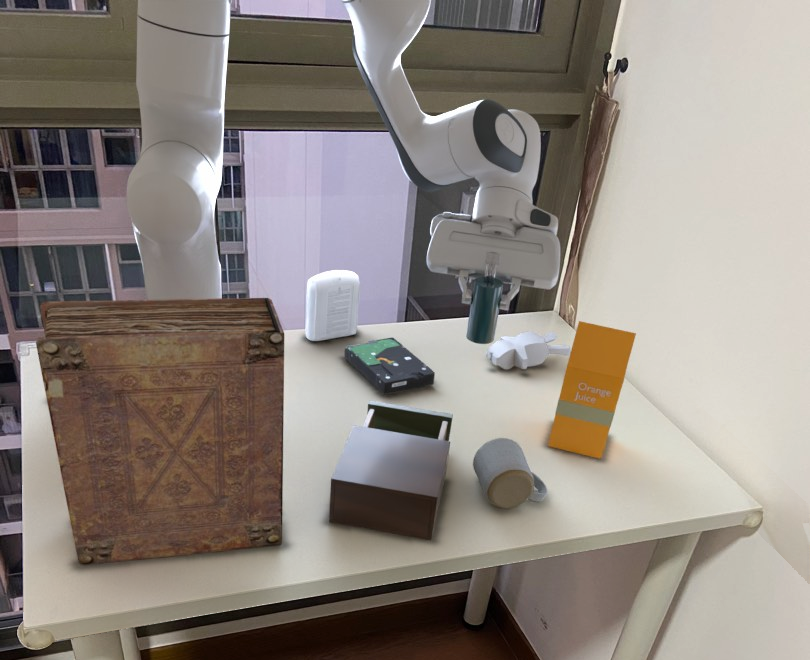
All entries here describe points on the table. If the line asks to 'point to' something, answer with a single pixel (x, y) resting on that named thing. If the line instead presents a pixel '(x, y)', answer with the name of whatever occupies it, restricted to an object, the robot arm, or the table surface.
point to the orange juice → (591, 389)
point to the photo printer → (332, 305)
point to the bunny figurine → (524, 350)
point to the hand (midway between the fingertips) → (485, 305)
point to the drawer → (408, 420)
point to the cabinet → (389, 482)
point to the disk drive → (389, 365)
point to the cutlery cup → (485, 303)
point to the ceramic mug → (506, 474)
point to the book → (166, 423)
